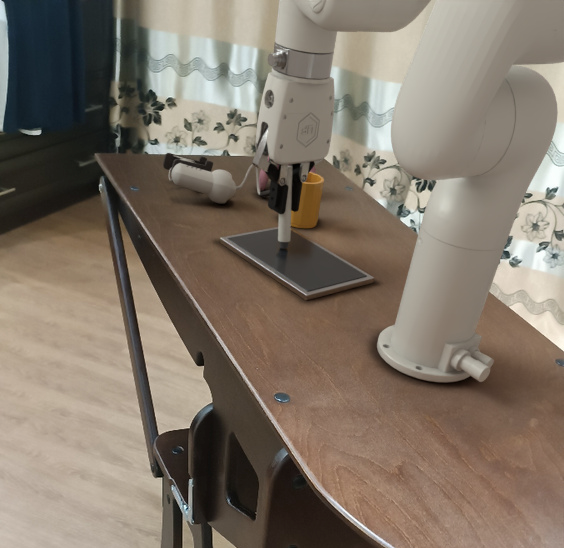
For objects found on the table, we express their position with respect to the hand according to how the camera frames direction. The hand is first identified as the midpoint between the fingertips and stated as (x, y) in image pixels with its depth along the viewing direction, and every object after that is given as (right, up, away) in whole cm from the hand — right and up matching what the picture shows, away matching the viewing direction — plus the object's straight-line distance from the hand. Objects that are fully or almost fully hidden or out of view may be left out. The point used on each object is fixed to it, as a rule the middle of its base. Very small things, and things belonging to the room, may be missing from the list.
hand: (283, 208), depth 102 cm
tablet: (+2, -7, +2) cm, 8 cm away
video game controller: (0, +13, +24) cm, 28 cm away
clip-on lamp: (-11, +10, +18) cm, 23 cm away
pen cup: (+3, +4, +14) cm, 15 cm away
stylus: (0, -5, +3) cm, 5 cm away
